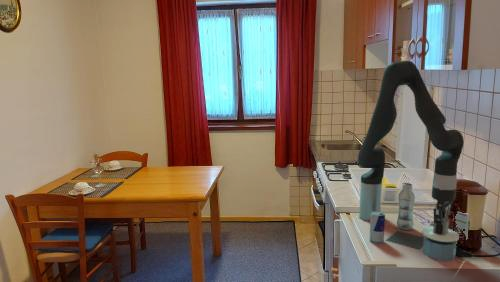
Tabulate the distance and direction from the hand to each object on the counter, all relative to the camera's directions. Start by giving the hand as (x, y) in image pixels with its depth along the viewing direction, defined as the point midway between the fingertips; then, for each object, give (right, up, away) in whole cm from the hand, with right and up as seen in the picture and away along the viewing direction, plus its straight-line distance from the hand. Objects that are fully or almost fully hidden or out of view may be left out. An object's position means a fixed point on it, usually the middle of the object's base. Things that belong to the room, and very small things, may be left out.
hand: (440, 231), depth 138 cm
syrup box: (+13, -8, +9) cm, 18 cm away
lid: (0, -1, 0) cm, 1 cm away
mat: (-6, -7, +14) cm, 17 cm away
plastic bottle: (-3, -5, +26) cm, 26 cm away
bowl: (0, -9, +1) cm, 9 cm away
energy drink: (-19, -7, +13) cm, 24 cm away
